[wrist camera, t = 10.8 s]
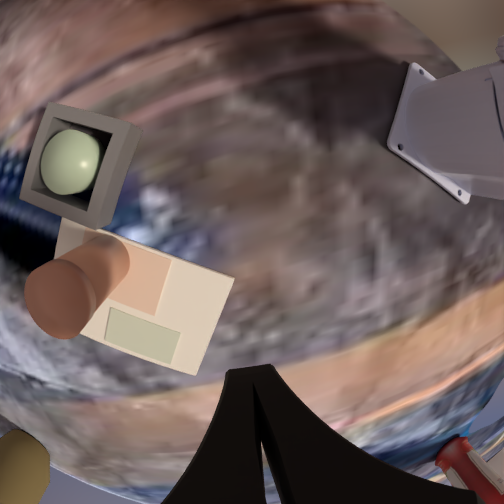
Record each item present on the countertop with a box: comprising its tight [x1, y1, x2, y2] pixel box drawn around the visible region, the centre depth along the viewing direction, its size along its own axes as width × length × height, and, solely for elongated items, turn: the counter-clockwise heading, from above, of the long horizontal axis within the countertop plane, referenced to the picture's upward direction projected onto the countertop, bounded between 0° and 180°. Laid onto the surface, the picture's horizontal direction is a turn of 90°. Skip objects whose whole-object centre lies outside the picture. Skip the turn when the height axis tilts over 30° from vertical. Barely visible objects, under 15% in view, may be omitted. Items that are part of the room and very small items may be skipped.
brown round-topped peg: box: [25, 235, 130, 339], centre depth 13 cm, size 3×3×7 cm
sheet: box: [54, 217, 235, 376], centre depth 17 cm, size 12×8×1 cm, turn 68°
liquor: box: [435, 437, 504, 504], centre depth 16 cm, size 7×7×28 cm
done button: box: [41, 130, 105, 195], centre depth 13 cm, size 4×4×2 cm
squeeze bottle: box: [0, 429, 50, 504], centre depth 12 cm, size 8×8×18 cm
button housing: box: [19, 102, 143, 230], centre depth 14 cm, size 6×6×2 cm
